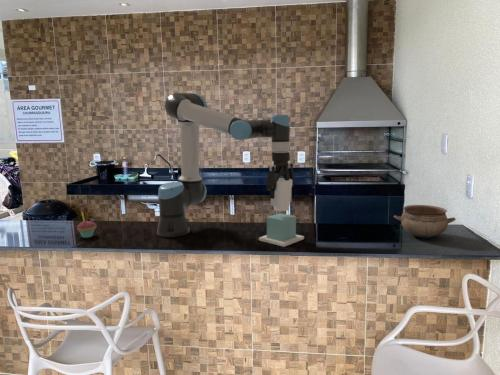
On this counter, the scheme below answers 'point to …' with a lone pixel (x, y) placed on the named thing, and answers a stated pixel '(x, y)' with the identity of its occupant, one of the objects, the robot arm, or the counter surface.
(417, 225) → the cooking pot
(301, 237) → the mat
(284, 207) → the foam cup
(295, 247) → the counter surface
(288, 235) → the block
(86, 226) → the cupcake
